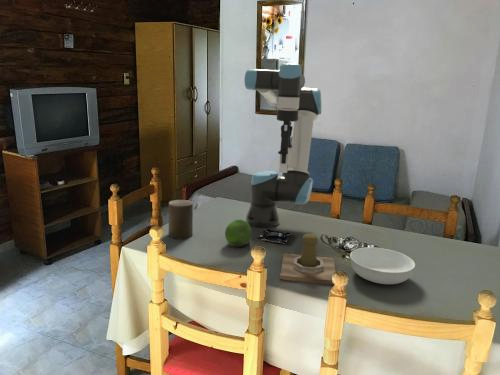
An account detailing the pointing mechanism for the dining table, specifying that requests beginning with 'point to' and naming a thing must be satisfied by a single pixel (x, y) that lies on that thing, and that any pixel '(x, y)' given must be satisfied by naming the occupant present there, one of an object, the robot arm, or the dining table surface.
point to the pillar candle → (180, 219)
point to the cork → (309, 251)
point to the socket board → (307, 270)
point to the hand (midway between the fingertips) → (284, 168)
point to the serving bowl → (381, 265)
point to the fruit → (238, 233)
